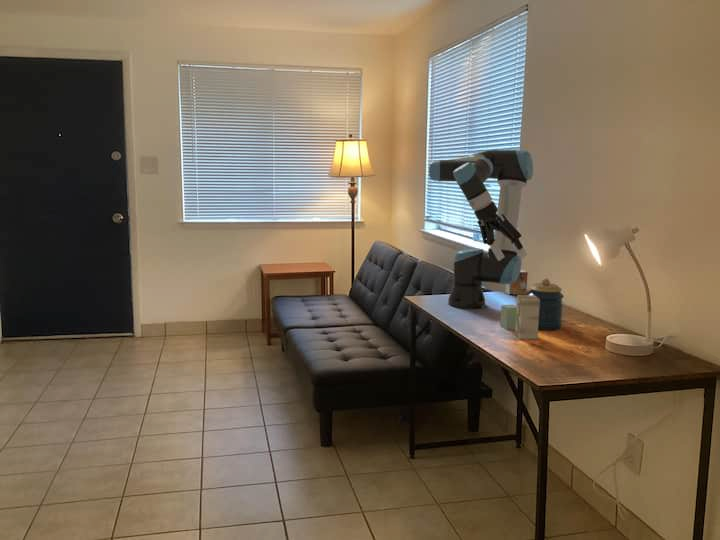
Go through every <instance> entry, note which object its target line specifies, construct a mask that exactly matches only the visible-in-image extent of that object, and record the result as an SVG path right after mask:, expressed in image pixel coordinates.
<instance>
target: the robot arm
mask: <svg viewBox="0 0 720 540" xmlns="http://www.w3.org/2000/svg"><path fill="white" fill-rule="evenodd" d="M533 163H534V162H533V158H532V155H531V153H530V152H529V151H527V150H520V149H509V150H508V149H507V150H505V149H501V150H500V149H490V150H485V151H480V152H475V153H472V154H470V155H468V157H459V158H453V159H447V160H446V159H445V160H443V159H441V160H440V159H439V160H438V159H437V160H432V161H431V162H430V164H429V167H428V175H429V178H430V180H432V181H433V182H456V184H457V185H458V187H459V188H460V191H462V193H463V195H464V197H465V199H466V200H467V202H468V205H469V206H470V208H471V209H472V210H473V211H474V212H473V213H474V215H475V216H476V218H477V220H478V221H477V224H478V226H479V229H480V233H481V238H482V242H483V244H484V245H486V244H487V245H488V246H489V248H488V250H487V251H488V252H487V253H486V252H485V251H484V249H482V248H467V249H460V250H457V251H456V252H455V254H454V257H453V258H454V260H453V278H452V279H453V280H452V281H453V283H452V285H453V286H452V288H451V290H450V294H449V296H448V301H447V302H448V303H447V304H448V305H449V306H451V307H454V308H458V309H459V308H460V309H479V308H478V307H481V308H483V307H482V306H484V305H485V306H486V298H485V295H484V290H483V287H482V286H483V283H482V282H484V283H489V284H490V283H491V284H492V283H493V284H500V285H506V284H513V283H514V282H515V281H516V280H517V278H518V276H519V273H520V270H522V260H523V259H524V258H526V257H527V256H528V254H527V252H526V250H525V248H524V246H523V244H522V243H521V241H520V238H521V237H522V234H521V233H520V232H519V231H518V223H519V222H518V221H519V215H520V206H521V199H522V192H523V188H524V187H526V186H527V185H528V184H527V181H530V180H532V178H533V176H534V175H533V174H534V164H533ZM489 179H491V180H492V179H493V180H496V181H497V182H496V183H497V184H498V185H499V187H500V188H499V195H498V203H497V205H496V203H495V202H494V201H493V198H492V196H491V195H490V193H489V191H488V189H487V187H486V185H485V184H484V183H485V182H486V181H487V180H489ZM485 306H484V307H485Z"/></svg>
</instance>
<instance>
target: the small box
mask: <svg viewBox="0 0 720 540" xmlns="http://www.w3.org/2000/svg"><path fill="white" fill-rule="evenodd" d="M528 274H529V273H528V271H526V270H525V269H521V270H520V273H519V276H518V278H517V280H516V281H515V282H514V283H513V284H505V293H506V294H508V295H509V294H513V295H527V288H528V286H527V285H528Z"/></svg>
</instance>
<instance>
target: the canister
mask: <svg viewBox="0 0 720 540" xmlns="http://www.w3.org/2000/svg"><path fill="white" fill-rule="evenodd" d="M529 289H530V290H529V291H528V292H527V291H526V295H530V296H536V297H537V298H539V299H540V306H539V322H538V331H540V330H541V331H556V330H559V329H561V328H562V324H563V307H564V304H563V299H564V297H565V296H564V294H563V293H562V290H563V289H562V288H561V287H560V286H559V285H557V284H555V283H550V280H549V279H548V278H544V279H542V280H541V282H538V283H537V282H536V283H533V284H532V285H530V286H529Z"/></svg>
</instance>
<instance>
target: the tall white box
mask: <svg viewBox="0 0 720 540" xmlns="http://www.w3.org/2000/svg"><path fill="white" fill-rule="evenodd" d="M516 299H517V300H516V306H517V312H516V329H514V330H515V331H514V332H515V333H514V334H515V337H516V338H518V340H519V339H533V340H532V341H538V337H539V334H538V333H539V329H538V322H539V306H540V299H539V298H537V297H536V296H530V295H527V294H526V295H517V297H516Z"/></svg>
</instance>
